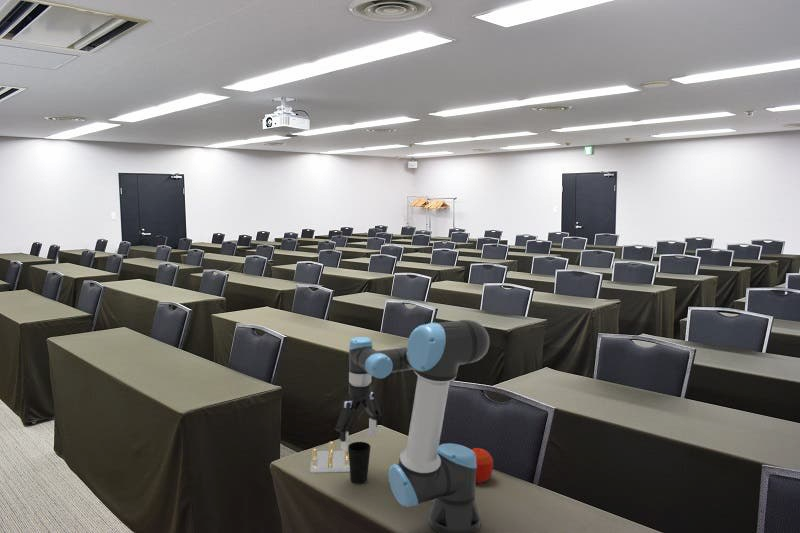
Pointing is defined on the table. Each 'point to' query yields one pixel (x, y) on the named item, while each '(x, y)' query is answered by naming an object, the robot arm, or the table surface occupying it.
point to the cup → (359, 461)
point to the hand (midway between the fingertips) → (358, 443)
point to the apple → (483, 465)
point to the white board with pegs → (329, 460)
